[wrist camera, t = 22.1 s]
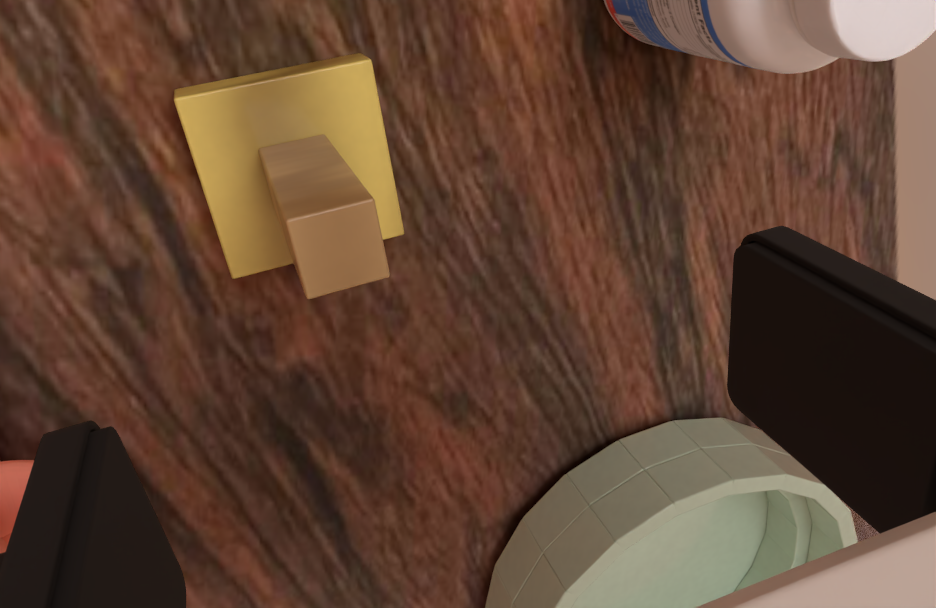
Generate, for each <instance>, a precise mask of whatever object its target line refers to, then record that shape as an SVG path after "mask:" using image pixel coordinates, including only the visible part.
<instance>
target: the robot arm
mask: <svg viewBox="0 0 936 608" xmlns="http://www.w3.org/2000/svg"><path fill="white" fill-rule="evenodd" d="M727 387H728V393H729V396H730V398H731V401H732V402H733V404H734V405H735V406H736V407H737V408H738V409H739V410H740V411H741V412H742V413H743V414H744V415H745V416H747V417H748V418H749V419H750V420H751V421H752V422H753V423H755V424H756V425H757V426H758V427H759V428H760V429H761V430H763V431H764V432H765V433H766V434H767V435H768V436H769V437H771V438H772V439H773V440H774V441H775V442H776V443H777V444H779V445H780V446H781V447H782V448H783V449H784V450H785V451H787V452H788V453H789V454H790V455H791V456H792V457H793V458H795V459H796V460H797V461H798V462H799V463H800V464H801V465H803V466H804V467H805V468H806V469H807V470H808V471H809V472H811V473H812V474H813V475H814V476H815V477H816V478H817V479H818V480H820V481H821V482H822V483H823V484H824V485H825V486H826V487H828V488H829V489H830V490H831V491H832V492H833V493H834V494H836V495H837V496H838V497H839V498H840V499H841V500H842V501H844V502H845V503H846V504H847V505H848V506H849V507H850V508H852V509H853V510H854V511H855V512H856V513H857V514H858V515H860V516H861V517H862V518H863V519H864V520H865V521H866V522H868V523H869V524H870V525H871V526H872V527H873V528H874V529H876V530H877V531H878V532H879V533H880V534H878V535H875V536H873V537H870V538H868V539H865V540H863V541H860V542H858V543H855V544H853V545H850V546H848V547H845V548H843V549H840V550H838V551H835V552H833V553H830V554H827V555H825V556H822V557H820V558H817V559H815V560H812V561H810V562H807V563H805V564H802V565H800V566H797V567H795V568H792V569H790V570H787V571H785V572H782V573H780V574H778V575H775V576H773V577H770V578H768V579H765V580H763V581H760V582H758V583H755V584H753V585H750V586H748V587H745V588H743V589H740V590H738V591H735V592H733V593H730V594H728V595H725V596H723V597H720V598H718V599H715V600H713V601H710V602H708V603H705V604H703V605H700V606H698V607H695V608H936V300H934V299H932V298H930V297H928V296H926V295H924V294H922V293H920V292H918V291H915V290H914V289H911V288H909V287H907V286H905V285H903V284H901V283H899V282H897V281H895V280H893V279H891V278H889V277H887V276H885V275H883V274H881V273H879V272H877V271H875V270H873V269H871V268H869V267H867V266H865V265H863V264H861V263H859V262H857V261H855V260H853V259H851V258H849V257H847V256H845V255H843V254H841V253H839V252H837V251H835V250H832V249H830V248H828V247H826V246H824V245H822V244H820V243H818V242H816V241H814V240H812V239H810V238H808V237H806V236H804V235H802V234H800V233H798V232H796V231H794V230H792V229H790V228H788V227H784V226H778V227H774V228H771V229H767V230H763V231H760V232H756V233H753V234H749V235H747V236H746V237H745V238H744V239H743V241H742V243H741V246H740V247H739V248H737V249H736V251H735V254H734V263H733V283H732V302H731V322H730V342H729V361H728V381H727ZM0 608H186V587H185V581H184V577H183V573H182V570H181V568H180V565H179V563H178V561H177V559H176V557H175V555H174V553H173V550H172V548H171V546H170V544H169V542H168V540H167V538H166V535H165V533H164V531H163V529H162V527H161V525H160V523H159V520H158V518H157V516H156V514H155V512H154V510H153V508H152V505H151V503H150V501H149V499H148V497H147V495H146V493H145V490H144V488H143V486H142V484H141V482H140V480H139V478H138V475H137V473H136V471H135V469H134V467H133V465H132V463H131V461H130V458H129V456H128V454H127V452H126V450H125V448H124V446H123V443H122V441H121V439H120V437H119V435H118V433H117V431H116V430H115V429H114V428H113V427H111V426H110V427H107V428H103V429H100V428H99V426H98V425H97V424H96V423H95V422H93V421H87V422H84V423H80V424H77V425H73V426H70V427H66V428H63V429H59V430H55V431H52V432H48V433H46V434H44V435H43V437H42V438H41V441H40V444H39V447H38V450H37V454H36V457H35V460H34V463H33V466H32V469H31V473H30V476H29V479H28V482H27V485H26V489H25V492H24V495H23V498H22V501H21V504H20V508H19V511H18V514H17V517H16V520H15V523H14V527H13V530H12V533H11V536H10V539H9V543H8V546H7V549H6V552H4V553H0Z"/></svg>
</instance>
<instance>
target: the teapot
mask: <svg viewBox="0 0 936 608" xmlns="http://www.w3.org/2000/svg"><path fill="white" fill-rule="evenodd" d="M33 463H34V460H9V461H2V462H1V460H0V553H4V552H6V549H7V546H8V543H9V539H10V536H11V533H12V530H13V527H14V523H15V520H16V517H17V514H18V511H19V508H20V504H21V501H22V498H23V495H24V492H25V489H26V485H27V482H28V479H29V476H30V473H31V469H32V466H33Z"/></svg>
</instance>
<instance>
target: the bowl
mask: <svg viewBox="0 0 936 608" xmlns="http://www.w3.org/2000/svg"><path fill="white" fill-rule="evenodd" d="M855 543H858V540H857V536H856V532H855V527H854V523H853V519H852V514H851V511H850V509H849V508H848V507H847V506H846V505H845V504H844V503H843V502H842V501H841V500H840V499H839V498H838V497H837V496H836V495H835V494H834V493H833V492H832V491H831V490H830V489H829V488H828V487H826V486H825V485H824V484H823V483H822V482H821V481H820V480H818V479H817V478H816V477H815V476H814V475H813V474H812V473H811V472H809V471H808V470H807V469H806V468H805V467H804V466H803V465H801V464H800V463H799V462H798V461H797V460H796V459H795V458H793V457H792V456H791V455H790V454H789V453H787V452H786V451H785V450H784V449H783V448H781V447H780V446H779V445H778V444H777V443H775V442H774V441H773V440H772V439H771V438H769V437H768V436H767V435H766V434H765V433H763V432H762V431H761V430H759V429H757V428H753V427H750V426H747V425H744V424H741V423H738V422H735V421H732V420H729V419H725V418H720V417H718V418H702V419H686V420H673V421H669V422H666V423H663V424H661V425H658V426H655V427H652V428H649V429H647V430H644V431H641V432H638V433H635V434H633V435H630V436H627V437H624V438H621V439H619V441H615V442H614V443H612V444H611V445H609V446H608V447H606V448H604V449H603V450H601V451H600V452H598V453H597V454H595V455H594V456H592V457H591V458H589V459H588V460H586V461H585V462H583V463H581V464H580V465H578V466H577V467H575V468H574V469H572V470H571V471H569V472H568V473H567V474H564V475H563V476H562V478H561V479H560V480H559V481H558V482H557V483H556V484H555V485H554V486H553V487H552V488H551V489H550V490H549V491H548V492H547V493H546V494H545V495H544V496H543V497H542V498H541V499H540V500H539V501H538V502H537V503H536V504H535V505H534V506H533V507H532V508H531V509H530V510H529V511H528V512H527V513H526V514H525V516H524V517H523V518H522V519H521V521H520V523H519V524H518V526H517V528H516V530H515V531H514V533H513V535H512V536H511V538H510V540H509V542H508V543H507V545H506V547H505V548H504V550H503V552H502V554H501V555H500V557H499V559H498V560H497V562H496V564H495V567H494V570H493V574H492V578H491V583H490V587H489V591H488V596H487V600H486V605H485V608H695V607H698V606H700V605H703V604H705V603H708V602H710V601H713V600H715V599H718V598H720V597H723V596H725V595H728V594H730V593H733V592H735V591H738V590H740V589H743V588H745V587H748V586H750V585H753V584H755V583H758V582H760V581H763V580H765V579H768V578H770V577H773V576H775V575H778V574H780V573H782V572H785V571H787V570H790V569H792V568H795V567H797V566H800V565H802V564H805V563H807V562H810V561H812V560H815V559H817V558H820V557H822V556H825V555H827V554H830V553H833V552H835V551H838V550H840V549H843V548H845V547H848V546H850V545H853V544H855Z"/></svg>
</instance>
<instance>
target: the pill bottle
mask: <svg viewBox="0 0 936 608" xmlns="http://www.w3.org/2000/svg"><path fill="white" fill-rule="evenodd" d="M604 3H605V5H606V8H607V10H608V12H609V14H610V15H611V17H612V18H613V19H614V21H615V22H616V23H617V25H618V26H619V27H620V28H621V29H622V30H623V31H625V32H626V33H627V34H629V35H630V36H632V37H633V38H635V39H637V40H639V41H642V42H644V43H647V44H650V45H655V46H658V47H662V48H666V49H670V50H675V51H679V52H684V53H689V54H692V55H697V56H701V57H706V58H710V59H715V60H719V61H724V62H729V63H733V64H737V65H741V66H746V67H750V68H755V69H760V70H765V71H770V72H776V73H783V74H793V73H802V72H807V71H811V70H815V69H818V68H820V67H823V66H825V65H827V64H829V63H831V62H833V61H835V60H837V59H838V58H848V59H855V60H863V61H886V60H890V59H894V58H897V57H900V56H902V55H904V54H906V53H908V52H910V51H911V50H913V49H914V48H916V47H917V46H918V45H920V44H921V43H923V41H925V40H926V39H927V38H928V37H929V36H930V35H931V34H932V33H933V32H934V31H935V30H936V0H604Z"/></svg>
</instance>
